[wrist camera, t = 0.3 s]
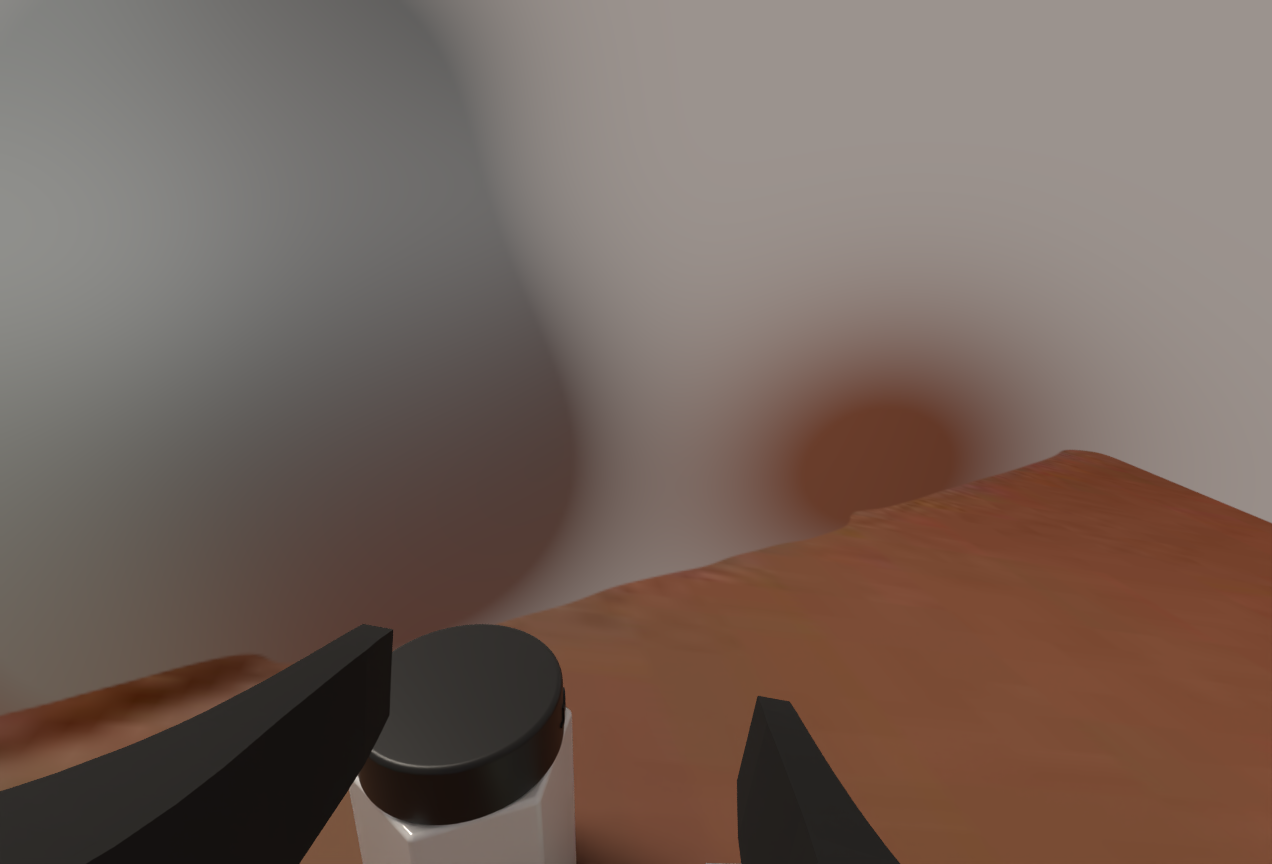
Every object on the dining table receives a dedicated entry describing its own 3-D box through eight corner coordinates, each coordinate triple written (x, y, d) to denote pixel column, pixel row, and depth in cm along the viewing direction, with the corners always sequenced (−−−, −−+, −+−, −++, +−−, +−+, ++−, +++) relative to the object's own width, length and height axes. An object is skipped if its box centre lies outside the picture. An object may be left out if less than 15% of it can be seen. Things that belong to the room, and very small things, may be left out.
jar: (614, 891, 29) (613, 680, 25) (467, 1065, 23) (435, 824, 19) (492, 784, 34) (475, 596, 30) (347, 902, 28) (303, 688, 24)
